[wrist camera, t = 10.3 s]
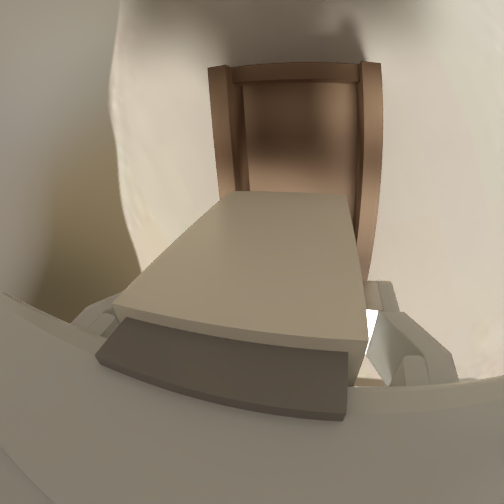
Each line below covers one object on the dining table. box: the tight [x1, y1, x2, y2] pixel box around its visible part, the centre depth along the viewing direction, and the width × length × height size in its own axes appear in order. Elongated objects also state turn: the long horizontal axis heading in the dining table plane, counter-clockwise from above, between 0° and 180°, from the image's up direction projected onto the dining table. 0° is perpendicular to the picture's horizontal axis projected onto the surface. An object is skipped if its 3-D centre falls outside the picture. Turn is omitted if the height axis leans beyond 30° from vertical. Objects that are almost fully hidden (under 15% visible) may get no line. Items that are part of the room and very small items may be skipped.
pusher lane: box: [208, 61, 383, 281], centre depth 17 cm, size 23×9×6 cm, turn 4°
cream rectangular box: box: [95, 191, 369, 422], centre depth 9 cm, size 5×5×9 cm
